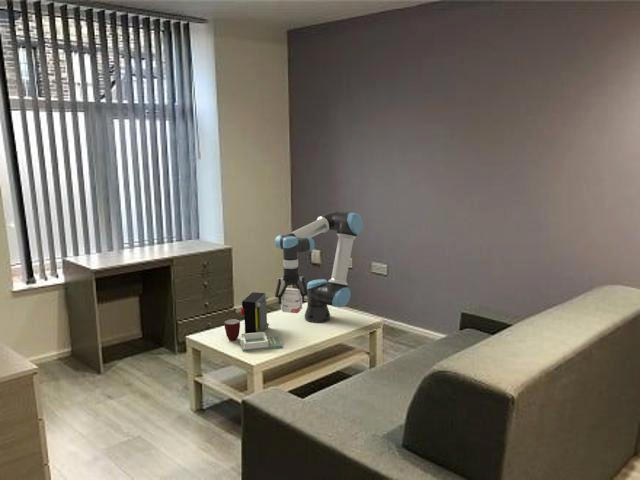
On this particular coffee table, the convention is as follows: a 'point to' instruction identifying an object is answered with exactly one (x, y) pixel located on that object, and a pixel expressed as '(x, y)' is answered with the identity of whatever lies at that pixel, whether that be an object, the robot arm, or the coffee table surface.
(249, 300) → the electrical component
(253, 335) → the board
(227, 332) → the mug
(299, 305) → the ink box
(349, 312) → the coffee table surface
